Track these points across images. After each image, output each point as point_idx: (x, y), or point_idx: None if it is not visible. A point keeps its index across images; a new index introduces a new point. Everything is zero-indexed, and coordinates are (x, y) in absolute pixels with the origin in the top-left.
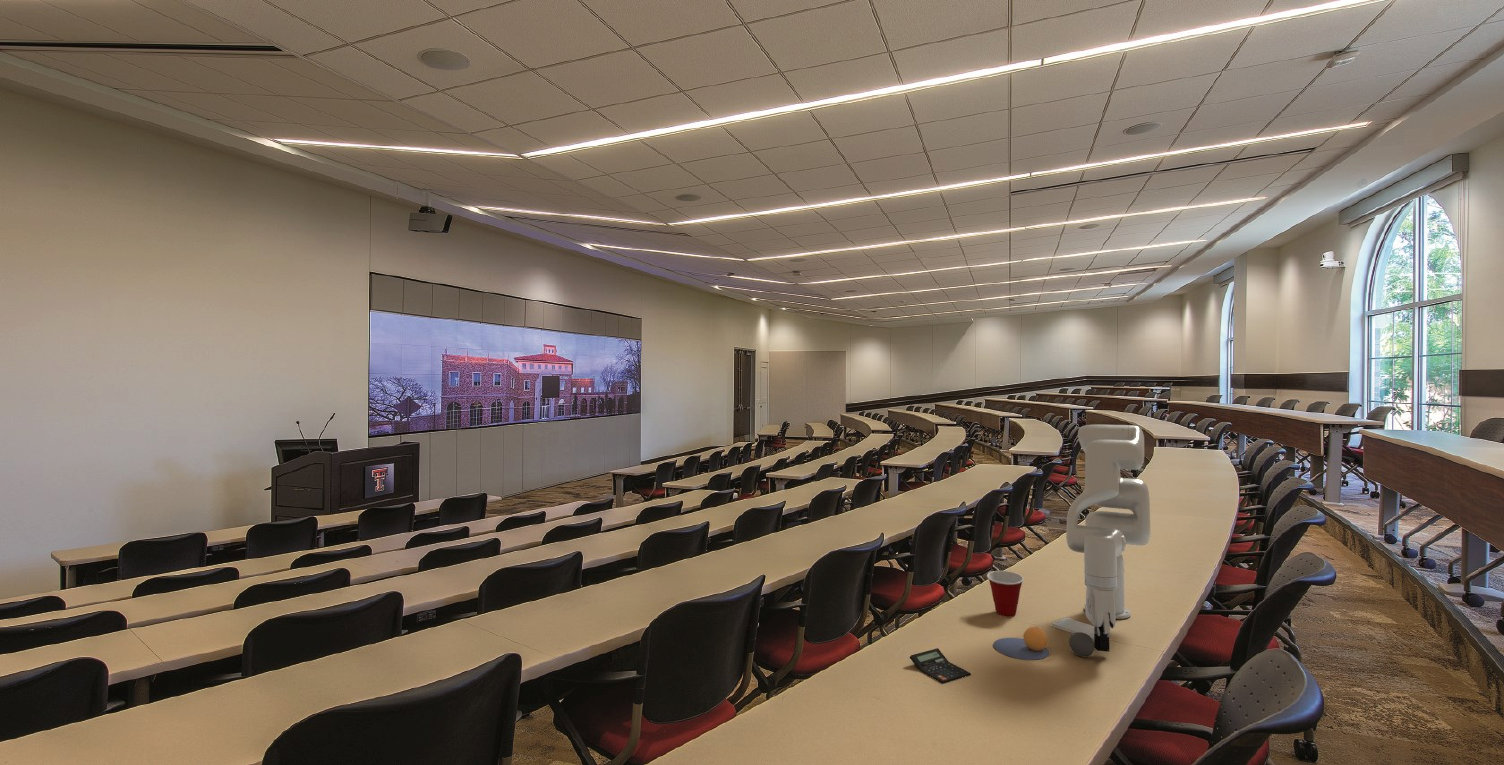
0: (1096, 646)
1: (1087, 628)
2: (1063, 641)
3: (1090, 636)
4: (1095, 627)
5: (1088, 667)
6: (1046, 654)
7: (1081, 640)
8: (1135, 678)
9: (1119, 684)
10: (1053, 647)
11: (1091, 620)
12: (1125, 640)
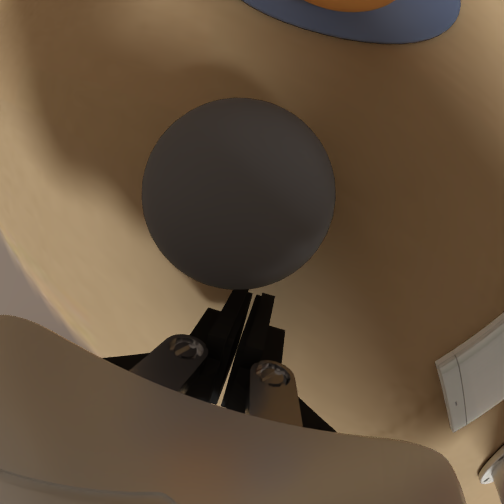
0: (230, 296)
1: (500, 378)
2: (457, 200)
3: (450, 361)
4: (250, 399)
5: (118, 156)
6: (264, 3)
7: (149, 159)
8: (59, 296)
9: (22, 213)
10: (382, 87)
11: (81, 387)
12: None
